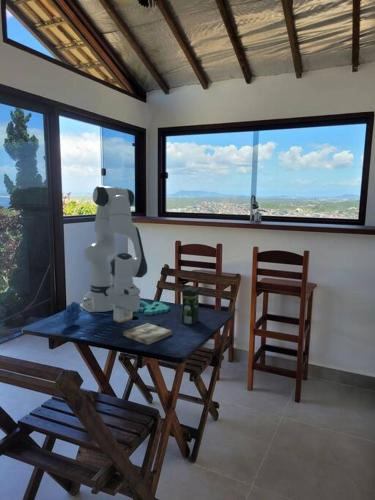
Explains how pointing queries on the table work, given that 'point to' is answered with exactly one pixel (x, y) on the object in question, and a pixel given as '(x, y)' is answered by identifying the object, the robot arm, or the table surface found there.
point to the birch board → (147, 333)
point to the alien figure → (152, 308)
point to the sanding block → (121, 315)
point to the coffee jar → (190, 305)
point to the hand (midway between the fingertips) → (123, 315)
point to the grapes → (71, 314)
